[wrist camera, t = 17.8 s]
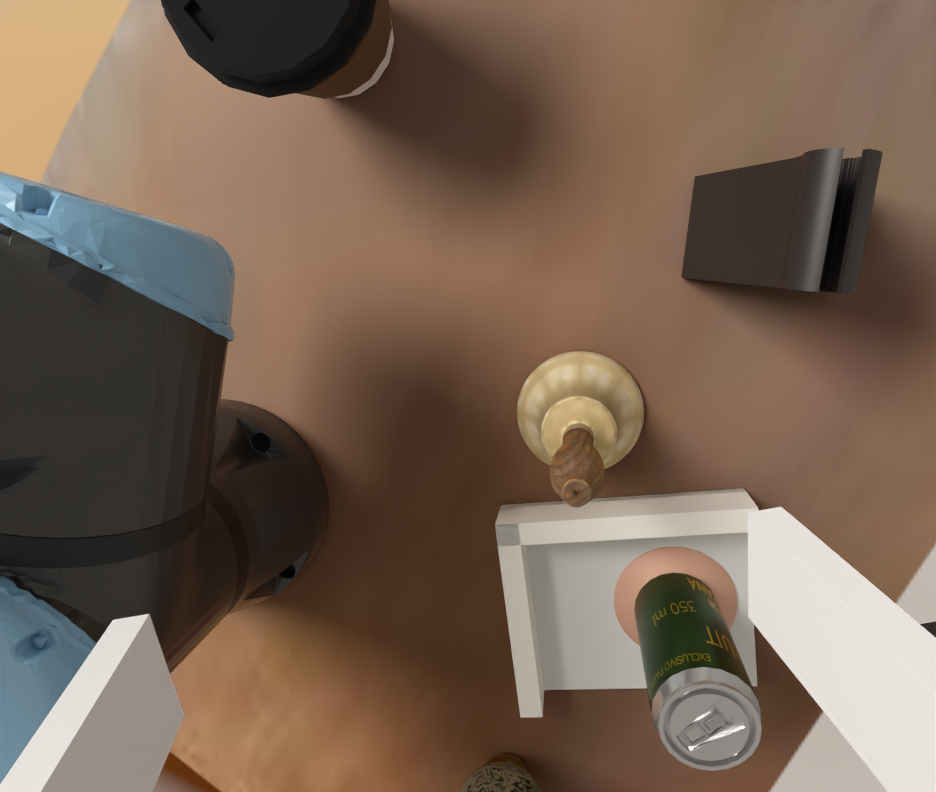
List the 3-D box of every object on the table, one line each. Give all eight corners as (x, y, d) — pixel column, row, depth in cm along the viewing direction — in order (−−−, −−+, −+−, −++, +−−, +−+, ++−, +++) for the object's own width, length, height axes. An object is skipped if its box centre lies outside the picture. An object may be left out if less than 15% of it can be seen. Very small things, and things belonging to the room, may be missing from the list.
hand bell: (500, 448, 45) (461, 548, 29) (540, 333, 43) (520, 376, 27) (617, 489, 44) (639, 614, 29) (663, 375, 42) (713, 442, 27)
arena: (524, 685, 48) (520, 717, 45) (500, 505, 46) (494, 524, 42) (754, 680, 45) (769, 714, 42) (743, 488, 43) (758, 508, 39)
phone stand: (854, 185, 38) (975, 153, 27) (834, 289, 39) (941, 302, 28) (694, 176, 39) (743, 142, 28) (679, 277, 41) (721, 285, 29)
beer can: (667, 654, 45) (699, 792, 33) (616, 597, 45) (631, 716, 33) (733, 611, 44) (790, 739, 32) (680, 552, 43) (719, 659, 32)
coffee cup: (341, 172, 43) (253, 141, 31) (229, 39, 42) (97, -44, 30) (466, 46, 40) (421, -40, 28) (348, -98, 39) (254, -247, 28)
